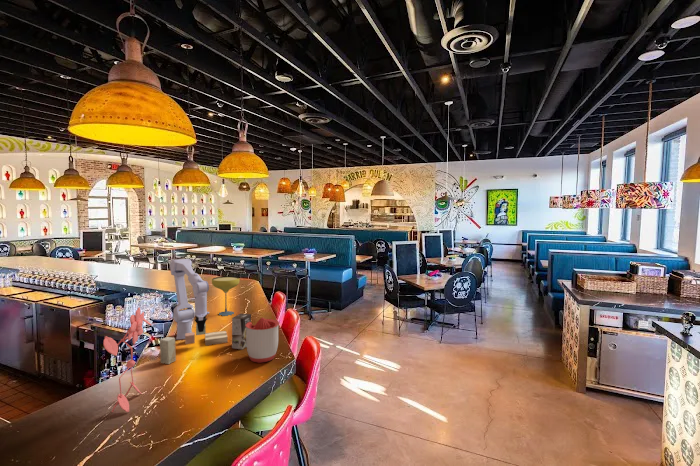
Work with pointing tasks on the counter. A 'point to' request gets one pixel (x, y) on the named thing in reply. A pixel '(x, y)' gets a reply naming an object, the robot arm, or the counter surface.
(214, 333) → the maple board
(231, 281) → the cocktail glass
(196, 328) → the sage cube
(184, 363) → the counter surface
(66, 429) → the counter surface
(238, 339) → the coffee box
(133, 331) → the pink thin branching piece
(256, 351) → the citrus juicer
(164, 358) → the box
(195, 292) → the robot arm
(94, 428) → the counter surface
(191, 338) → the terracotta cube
